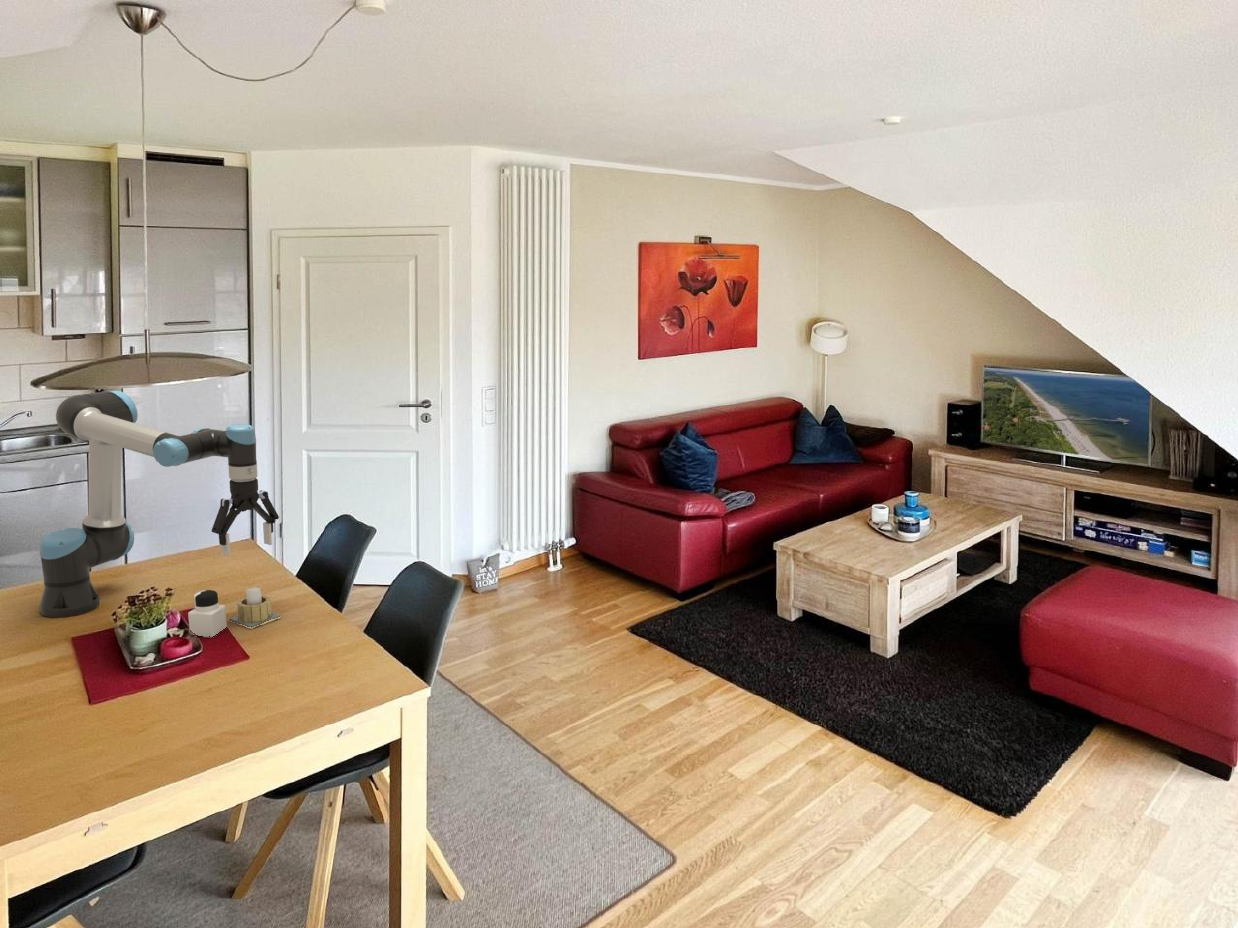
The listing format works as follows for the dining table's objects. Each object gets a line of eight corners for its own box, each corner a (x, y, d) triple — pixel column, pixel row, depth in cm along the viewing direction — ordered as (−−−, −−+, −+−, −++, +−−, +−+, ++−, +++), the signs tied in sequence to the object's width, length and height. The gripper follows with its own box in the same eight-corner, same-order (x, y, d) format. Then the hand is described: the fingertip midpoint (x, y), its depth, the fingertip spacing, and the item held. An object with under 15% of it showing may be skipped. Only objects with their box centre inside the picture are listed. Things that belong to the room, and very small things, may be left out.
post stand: (229, 621, 257) (227, 590, 255) (259, 611, 265) (257, 581, 263) (251, 629, 251) (249, 598, 249) (280, 618, 260) (279, 588, 258)
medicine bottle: (227, 628, 252) (224, 588, 250) (213, 638, 245) (210, 597, 243) (203, 626, 253) (200, 587, 250) (189, 636, 246) (186, 595, 243)
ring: (231, 618, 257) (230, 602, 256) (258, 608, 264) (257, 593, 263) (251, 625, 252) (249, 608, 251) (277, 615, 259) (276, 599, 258)
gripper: (211, 488, 239) (216, 562, 243) (289, 473, 259) (292, 541, 264) (194, 484, 243) (200, 557, 247) (273, 469, 263) (276, 537, 268)
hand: (247, 549), depth 256 cm, fingers open, 13 cm apart
